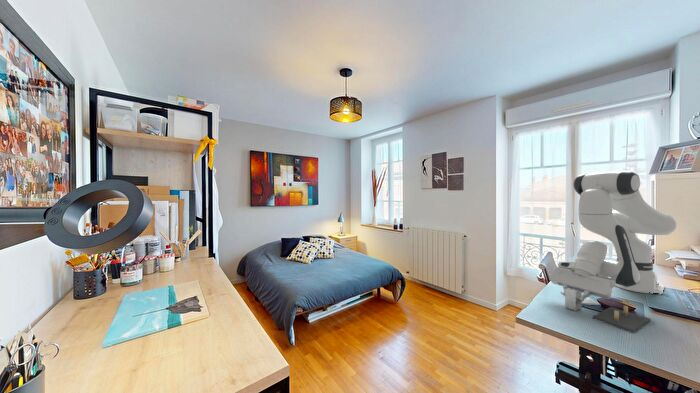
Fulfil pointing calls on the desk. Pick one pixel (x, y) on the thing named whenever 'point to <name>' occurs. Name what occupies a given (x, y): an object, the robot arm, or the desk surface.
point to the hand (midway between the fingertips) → (572, 298)
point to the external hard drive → (588, 301)
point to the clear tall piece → (573, 298)
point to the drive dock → (622, 319)
